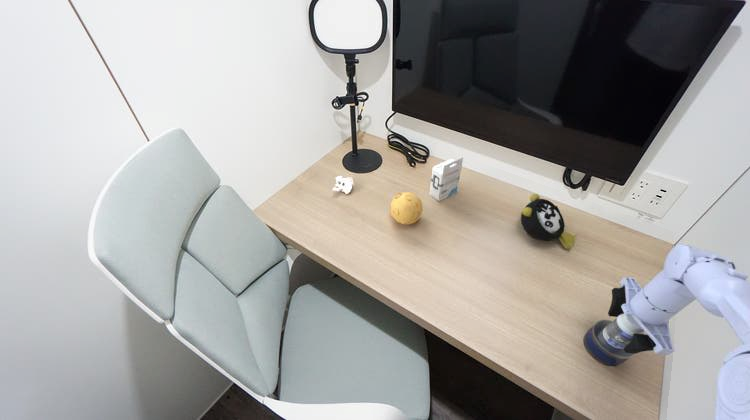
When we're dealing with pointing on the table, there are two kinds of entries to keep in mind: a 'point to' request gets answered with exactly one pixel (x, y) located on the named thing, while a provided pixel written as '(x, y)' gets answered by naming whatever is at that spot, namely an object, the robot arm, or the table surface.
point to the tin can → (603, 346)
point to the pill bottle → (621, 331)
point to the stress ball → (406, 208)
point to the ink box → (445, 179)
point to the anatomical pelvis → (347, 184)
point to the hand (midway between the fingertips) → (621, 332)
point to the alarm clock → (545, 222)
